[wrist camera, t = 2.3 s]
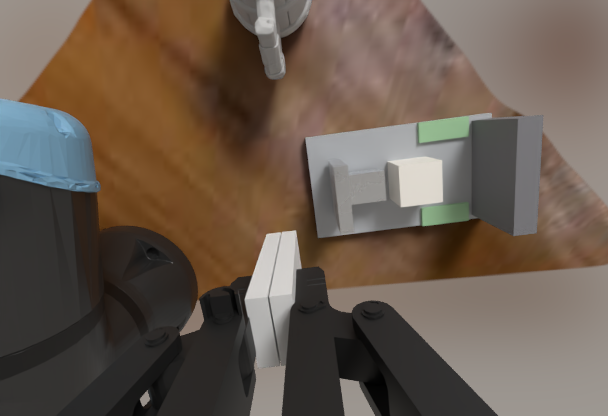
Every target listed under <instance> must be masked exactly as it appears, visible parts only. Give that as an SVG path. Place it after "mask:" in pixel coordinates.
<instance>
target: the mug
mask: <svg viewBox="0 0 608 416" xmlns="http://www.w3.org/2000/svg"><path fill="white" fill-rule="evenodd" d="M311 3H312V0H230V4H231V7H232V9H233V13H234V15H235V17H236V18H238V20H239V21H240V23H241V24H242V25H243V26H244V27H245V28H246V29H247V30H249V31H250V32H252V33H253V34H255V35H257V36H258V39H259V49H260V52H261V56H262V62H263V64H264V65H265V73H266V75H267V77H268V78H269V79H273V80H274V79H282V78H283V77H284V75H285V72H286V69H285V59H284V54H283V53H282V46H281V38H283V37H286V36H288V35H290V34H291V33H293V32H294V31H295V30H296V29H298V28H299V27H300V26H301V24H302V23H303V22H304V20H305V19H306V18H307V16H308V13H309V10H310V7H311Z"/></svg>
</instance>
